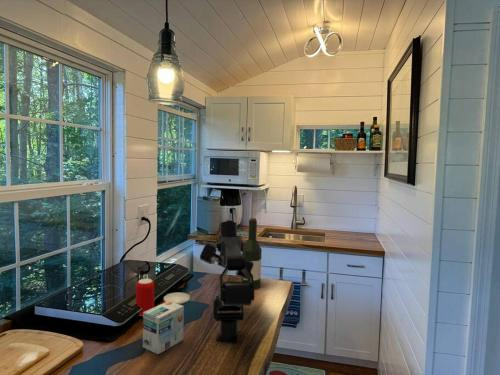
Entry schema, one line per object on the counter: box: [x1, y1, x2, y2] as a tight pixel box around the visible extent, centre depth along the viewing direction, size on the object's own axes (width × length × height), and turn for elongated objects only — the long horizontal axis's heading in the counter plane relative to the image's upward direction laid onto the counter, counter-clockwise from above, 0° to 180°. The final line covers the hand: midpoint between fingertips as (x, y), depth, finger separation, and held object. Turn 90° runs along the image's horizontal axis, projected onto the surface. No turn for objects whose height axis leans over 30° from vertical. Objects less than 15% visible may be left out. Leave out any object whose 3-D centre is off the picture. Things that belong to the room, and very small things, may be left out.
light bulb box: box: [142, 301, 185, 355], centre depth 105 cm, size 11×7×11 cm, turn 148°
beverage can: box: [135, 278, 155, 317], centre depth 124 cm, size 6×6×12 cm
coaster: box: [163, 292, 191, 305], centre depth 138 cm, size 10×10×1 cm
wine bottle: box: [240, 217, 263, 291], centre depth 153 cm, size 8×8×30 cm
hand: (225, 267), depth 133 cm, fingers open, 9 cm apart
